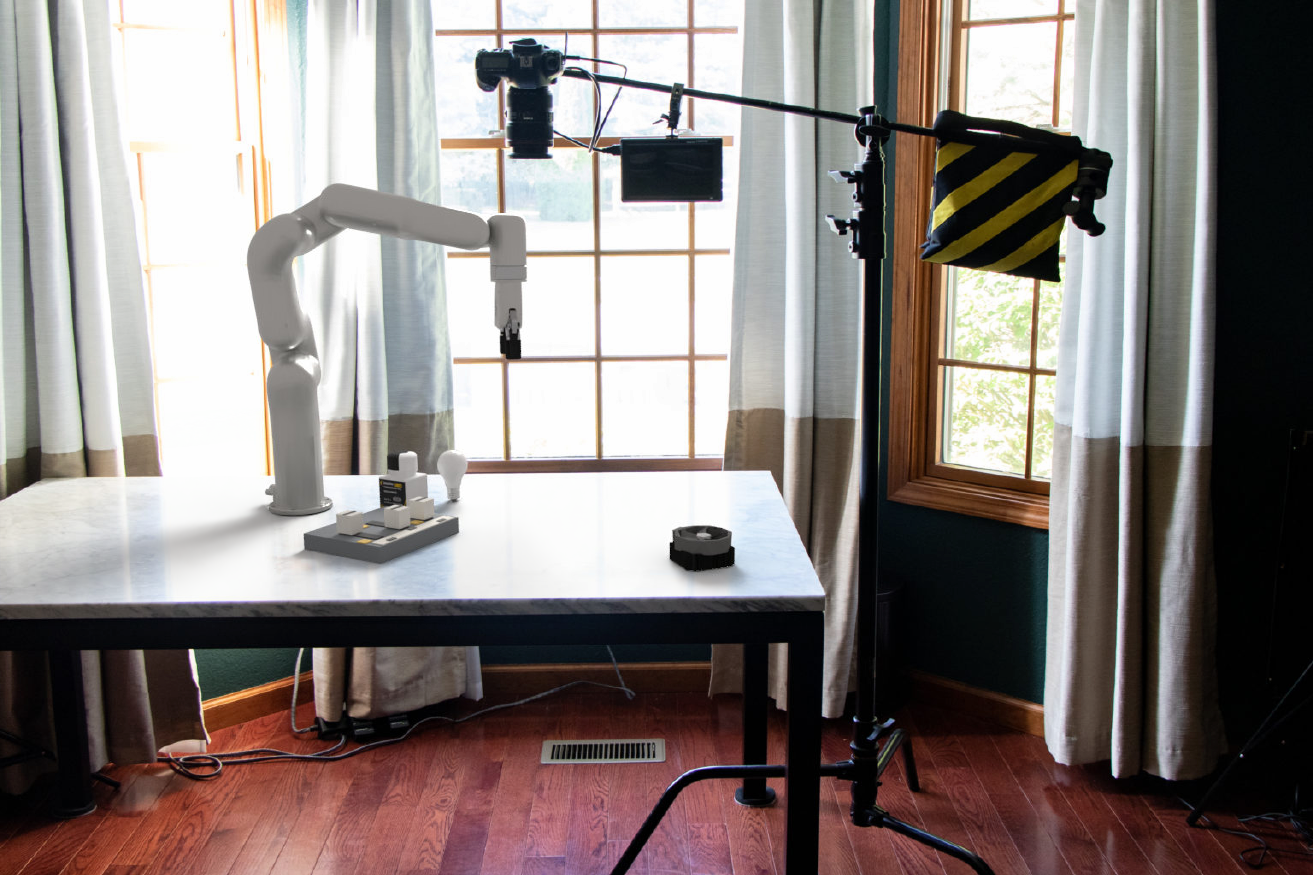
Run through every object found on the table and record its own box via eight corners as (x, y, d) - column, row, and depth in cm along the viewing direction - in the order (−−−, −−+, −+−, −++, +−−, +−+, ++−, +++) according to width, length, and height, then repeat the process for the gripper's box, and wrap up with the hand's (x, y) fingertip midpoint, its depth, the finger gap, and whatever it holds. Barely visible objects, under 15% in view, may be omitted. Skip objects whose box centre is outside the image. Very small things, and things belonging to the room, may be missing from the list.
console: (304, 549, 196) (303, 531, 196) (386, 520, 215) (385, 504, 215) (380, 563, 188) (380, 545, 188) (459, 532, 207) (458, 515, 207)
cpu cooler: (741, 536, 186) (688, 542, 182) (741, 567, 187) (688, 575, 183) (715, 521, 195) (663, 527, 191) (714, 551, 196) (663, 558, 192)
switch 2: (384, 526, 199) (383, 507, 198) (395, 522, 202) (394, 504, 201) (399, 529, 198) (398, 510, 197) (410, 525, 200) (409, 506, 199)
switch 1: (337, 532, 195) (336, 513, 195) (348, 528, 198) (347, 509, 197) (351, 535, 194) (350, 515, 193) (363, 531, 196) (362, 511, 196)
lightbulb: (465, 504, 228) (463, 453, 226) (435, 504, 228) (433, 453, 226) (471, 496, 234) (469, 447, 232) (442, 496, 234) (440, 447, 232)
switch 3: (409, 517, 205) (408, 499, 204) (420, 514, 208) (419, 495, 207) (424, 520, 204) (423, 501, 203) (434, 516, 206) (433, 497, 206)
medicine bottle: (379, 510, 223) (376, 453, 221) (402, 502, 229) (400, 447, 227) (406, 514, 220) (403, 457, 218) (429, 506, 226) (426, 450, 224)
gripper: (486, 272, 231) (488, 352, 235) (495, 276, 215) (497, 362, 218) (521, 272, 233) (522, 351, 237) (532, 276, 217) (534, 361, 220)
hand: (510, 356), depth 227 cm, fingers open, 9 cm apart
